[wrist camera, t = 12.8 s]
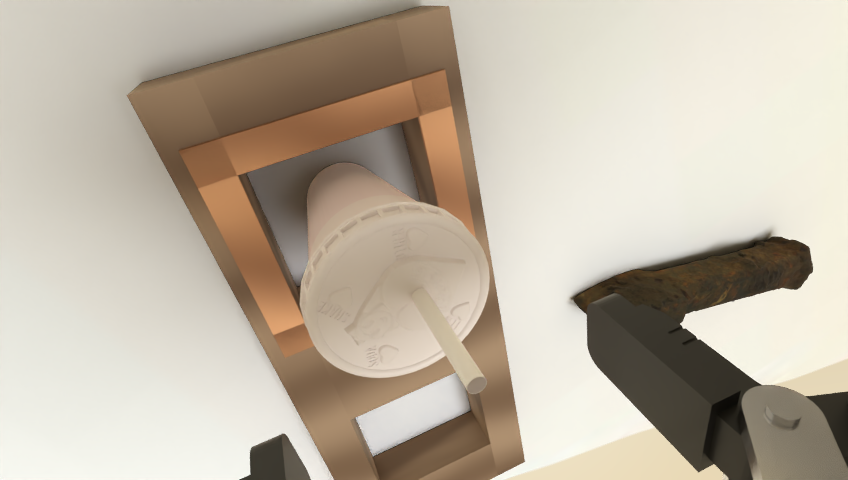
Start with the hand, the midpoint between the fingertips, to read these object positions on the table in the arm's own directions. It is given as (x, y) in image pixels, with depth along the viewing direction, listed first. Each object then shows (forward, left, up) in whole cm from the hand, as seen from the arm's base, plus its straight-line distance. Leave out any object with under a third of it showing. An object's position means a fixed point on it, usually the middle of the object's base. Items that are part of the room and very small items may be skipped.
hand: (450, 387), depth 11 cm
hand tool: (+15, +22, -14) cm, 30 cm away
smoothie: (0, 0, -14) cm, 14 cm away
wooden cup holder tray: (+8, 0, -14) cm, 16 cm away
